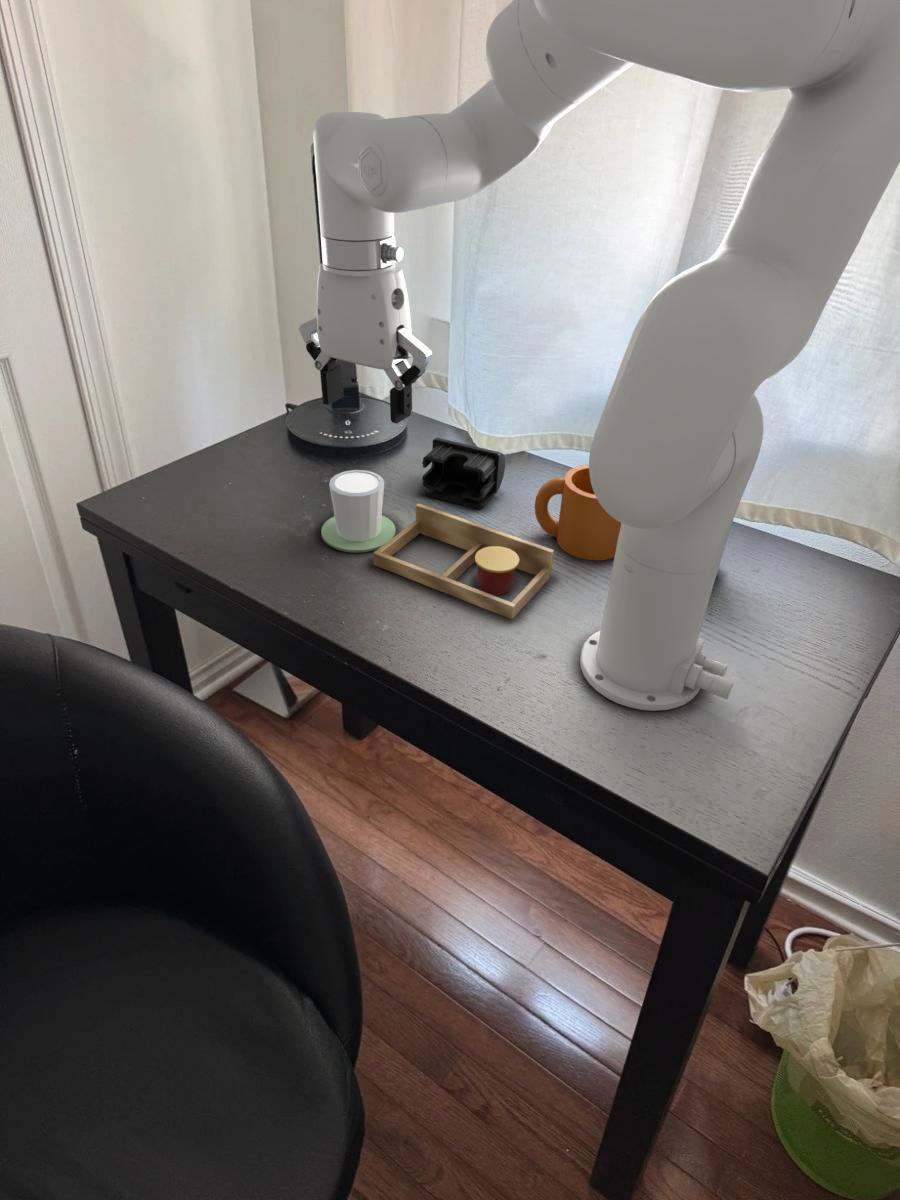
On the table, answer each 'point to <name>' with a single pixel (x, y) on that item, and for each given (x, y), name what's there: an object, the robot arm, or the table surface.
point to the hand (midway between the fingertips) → (366, 409)
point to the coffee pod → (496, 569)
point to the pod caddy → (466, 558)
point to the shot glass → (357, 504)
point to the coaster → (342, 544)
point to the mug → (578, 517)
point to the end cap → (462, 473)
